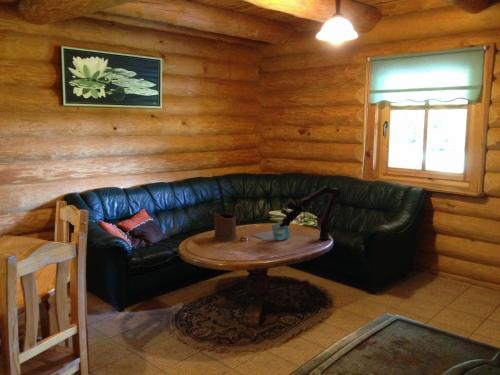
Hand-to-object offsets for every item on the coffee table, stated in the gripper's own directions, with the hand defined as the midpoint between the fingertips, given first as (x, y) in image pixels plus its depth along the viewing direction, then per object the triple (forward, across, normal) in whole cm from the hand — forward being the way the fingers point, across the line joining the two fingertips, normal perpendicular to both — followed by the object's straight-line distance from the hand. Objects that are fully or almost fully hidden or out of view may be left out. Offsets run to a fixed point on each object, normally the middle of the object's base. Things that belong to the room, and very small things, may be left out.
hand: (280, 226), depth 319 cm
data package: (+6, -2, +8) cm, 10 cm away
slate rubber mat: (+14, -10, +1) cm, 17 cm away
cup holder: (+35, +4, -20) cm, 40 cm away
